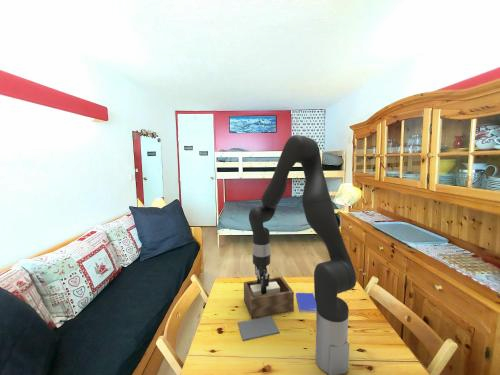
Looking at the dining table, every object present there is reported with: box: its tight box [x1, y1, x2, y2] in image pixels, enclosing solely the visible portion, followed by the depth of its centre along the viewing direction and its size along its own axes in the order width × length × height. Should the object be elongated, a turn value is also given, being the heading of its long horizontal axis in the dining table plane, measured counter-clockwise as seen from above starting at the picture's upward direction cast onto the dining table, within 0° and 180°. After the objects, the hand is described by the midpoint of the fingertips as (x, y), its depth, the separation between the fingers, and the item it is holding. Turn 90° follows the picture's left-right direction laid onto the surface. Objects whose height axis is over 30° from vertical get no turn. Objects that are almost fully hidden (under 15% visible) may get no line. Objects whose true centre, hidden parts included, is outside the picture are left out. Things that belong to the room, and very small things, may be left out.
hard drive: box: [295, 292, 317, 314], centre depth 102 cm, size 2×8×12 cm
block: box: [250, 281, 280, 297], centre depth 100 cm, size 12×5×5 cm, turn 104°
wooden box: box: [243, 275, 295, 320], centre depth 100 cm, size 18×13×9 cm
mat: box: [237, 315, 281, 342], centre depth 87 cm, size 9×14×1 cm, turn 104°
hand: (261, 289), depth 99 cm, fingers closed on block, 5 cm apart
